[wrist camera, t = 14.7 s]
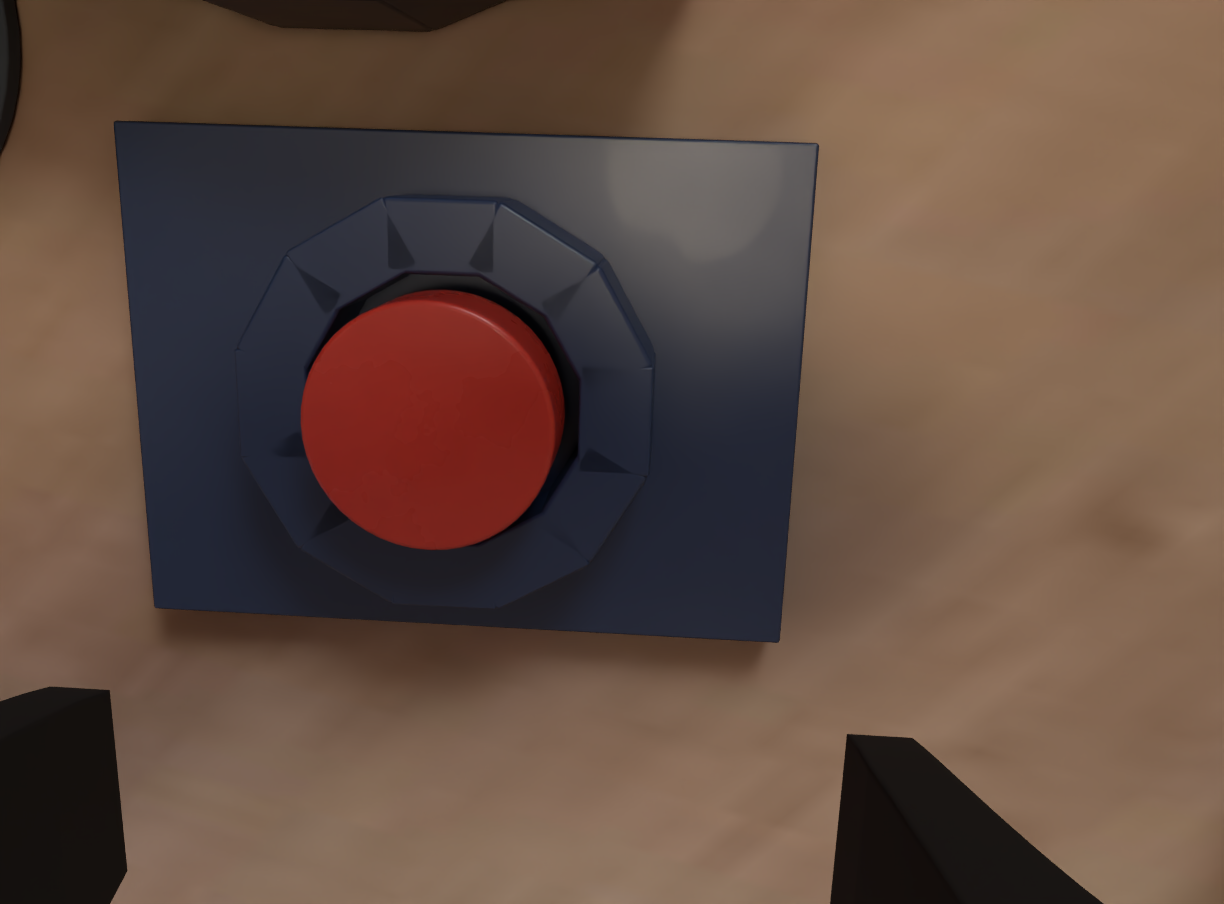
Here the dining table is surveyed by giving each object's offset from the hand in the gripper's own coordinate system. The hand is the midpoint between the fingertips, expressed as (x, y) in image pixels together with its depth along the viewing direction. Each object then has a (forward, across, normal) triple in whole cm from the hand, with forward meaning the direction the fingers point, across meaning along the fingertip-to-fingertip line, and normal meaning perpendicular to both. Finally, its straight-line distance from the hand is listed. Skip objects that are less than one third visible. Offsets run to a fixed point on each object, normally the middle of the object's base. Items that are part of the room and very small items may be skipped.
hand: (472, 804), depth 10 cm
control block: (+10, +2, -2) cm, 11 cm away
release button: (+8, +2, -2) cm, 9 cm away
